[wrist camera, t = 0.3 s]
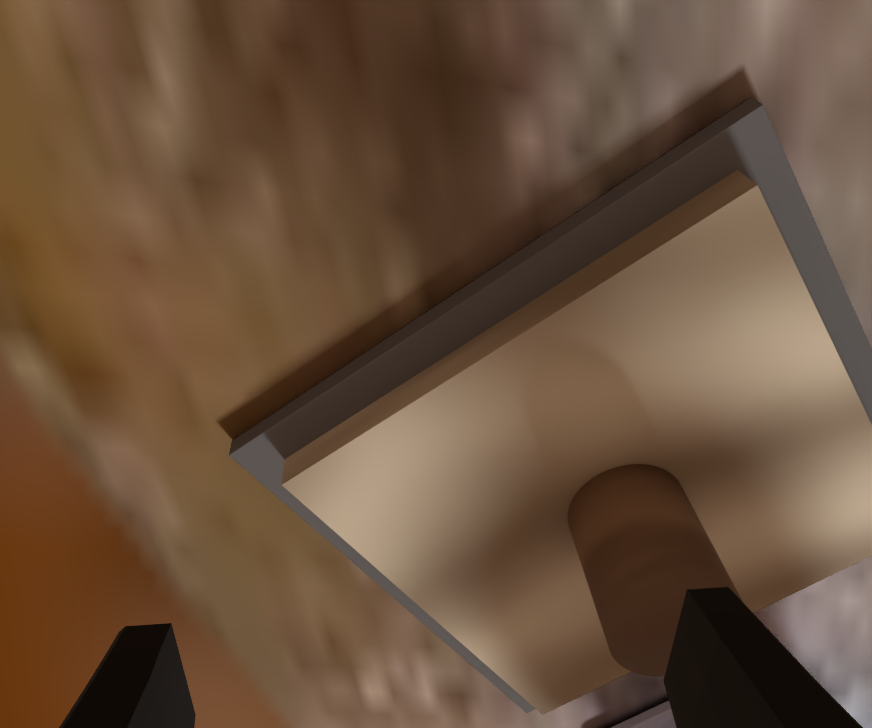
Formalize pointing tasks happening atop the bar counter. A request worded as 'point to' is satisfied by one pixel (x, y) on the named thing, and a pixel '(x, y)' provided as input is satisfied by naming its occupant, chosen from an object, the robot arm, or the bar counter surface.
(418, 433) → the lid
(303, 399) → the tray
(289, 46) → the bar counter surface
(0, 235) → the bar counter surface
